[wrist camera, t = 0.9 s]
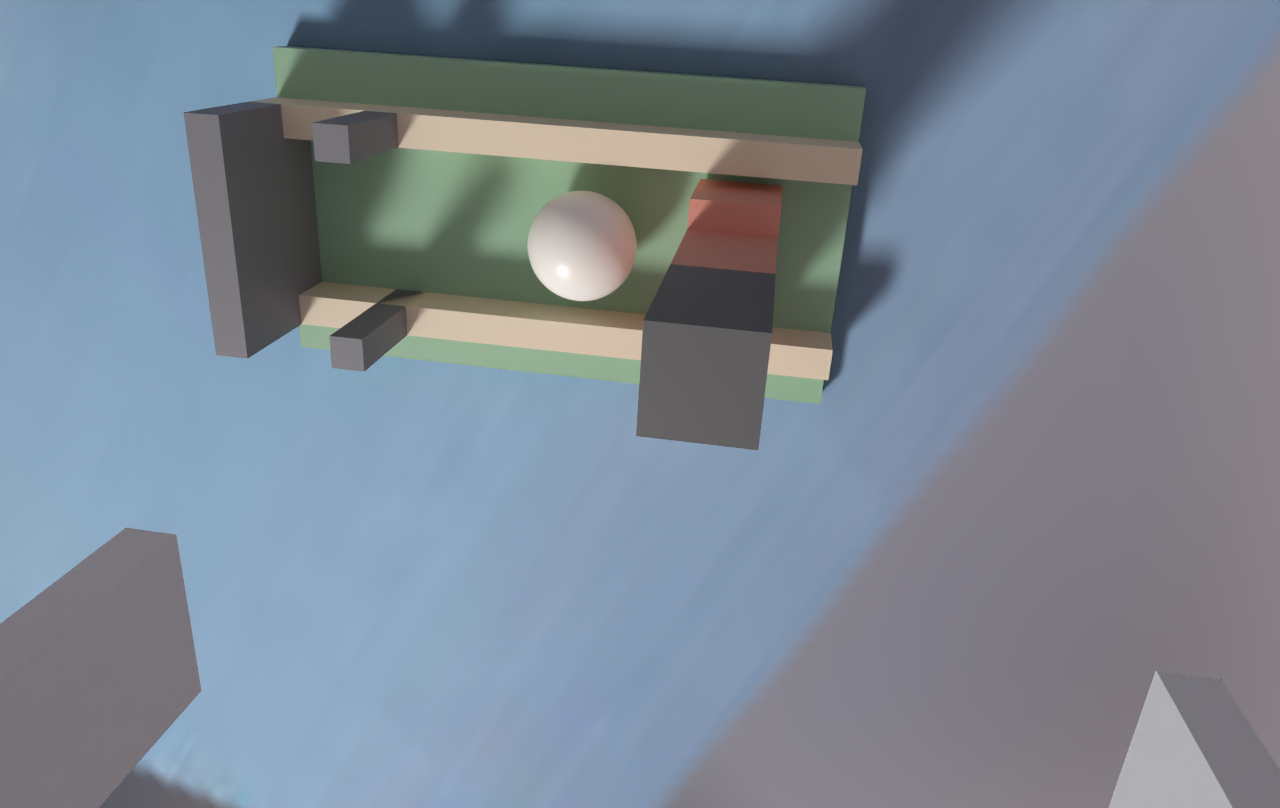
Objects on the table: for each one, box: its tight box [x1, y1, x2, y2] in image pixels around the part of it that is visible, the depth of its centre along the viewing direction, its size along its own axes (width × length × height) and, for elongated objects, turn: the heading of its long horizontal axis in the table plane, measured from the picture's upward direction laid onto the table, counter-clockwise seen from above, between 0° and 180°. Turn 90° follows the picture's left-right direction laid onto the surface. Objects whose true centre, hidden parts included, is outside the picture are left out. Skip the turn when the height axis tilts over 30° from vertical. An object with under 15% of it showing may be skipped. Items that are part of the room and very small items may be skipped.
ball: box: [527, 191, 637, 301], centre depth 34 cm, size 4×4×4 cm
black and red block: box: [636, 179, 783, 450], centre depth 28 cm, size 5×3×14 cm, turn 178°
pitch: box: [184, 46, 866, 404], centre depth 34 cm, size 12×22×7 cm, turn 88°
